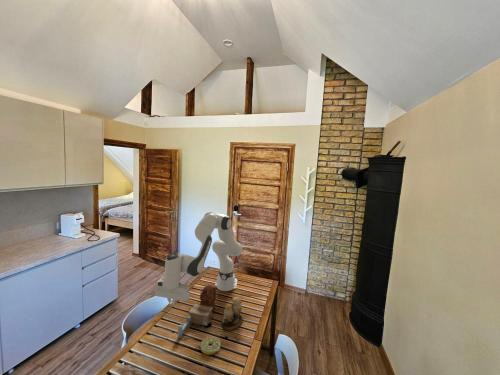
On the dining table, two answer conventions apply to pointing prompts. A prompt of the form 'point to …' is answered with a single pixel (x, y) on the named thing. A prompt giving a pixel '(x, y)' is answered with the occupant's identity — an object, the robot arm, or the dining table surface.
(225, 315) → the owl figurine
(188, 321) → the lever handle with knob
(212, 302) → the wooden figurine
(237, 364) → the dining table surface
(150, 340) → the dining table surface
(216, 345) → the decorated donut
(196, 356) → the dining table surface
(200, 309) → the tan boxy piece
